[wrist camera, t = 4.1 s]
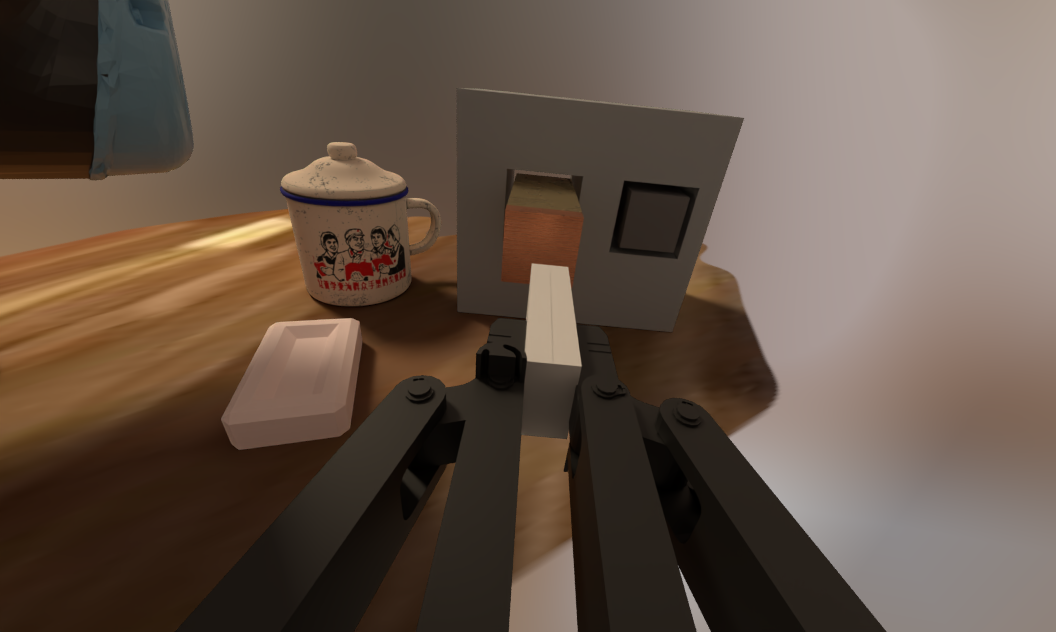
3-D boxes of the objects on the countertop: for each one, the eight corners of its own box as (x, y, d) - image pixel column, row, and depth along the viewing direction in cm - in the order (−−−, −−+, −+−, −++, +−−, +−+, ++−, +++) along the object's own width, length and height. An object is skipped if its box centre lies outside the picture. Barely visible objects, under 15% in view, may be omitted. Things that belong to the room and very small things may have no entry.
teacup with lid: (310, 319, 29) (272, 153, 23) (298, 272, 35) (266, 133, 29) (459, 292, 35) (459, 154, 29) (425, 255, 41) (420, 137, 35)
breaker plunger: (500, 281, 21) (505, 209, 19) (513, 226, 30) (516, 173, 28) (572, 288, 21) (583, 217, 19) (563, 231, 30) (571, 178, 28)
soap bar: (230, 456, 19) (214, 420, 18) (278, 348, 26) (270, 318, 25) (350, 440, 20) (343, 406, 19) (363, 342, 28) (359, 313, 26)
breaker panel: (456, 314, 31) (455, 87, 23) (475, 264, 40) (479, 88, 32) (673, 334, 32) (747, 118, 24) (644, 281, 41) (690, 111, 33)
